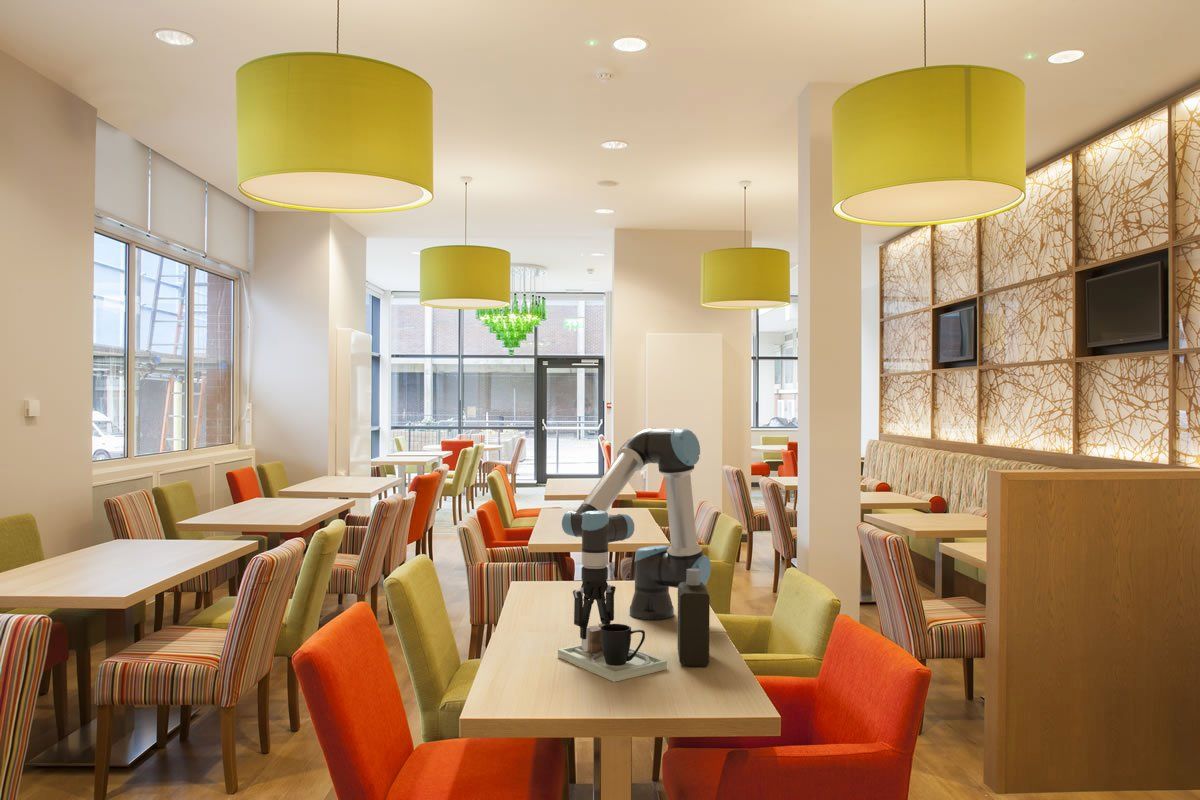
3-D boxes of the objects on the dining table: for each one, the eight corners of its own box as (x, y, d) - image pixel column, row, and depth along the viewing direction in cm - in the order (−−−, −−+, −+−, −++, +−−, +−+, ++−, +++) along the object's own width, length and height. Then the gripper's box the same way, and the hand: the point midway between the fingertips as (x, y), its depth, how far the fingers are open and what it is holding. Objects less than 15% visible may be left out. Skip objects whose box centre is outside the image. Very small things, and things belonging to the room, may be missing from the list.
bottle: (680, 667, 224) (680, 575, 224) (677, 650, 240) (677, 564, 240) (709, 668, 223) (710, 575, 223) (704, 650, 239) (705, 564, 239)
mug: (644, 668, 219) (644, 632, 219) (599, 666, 220) (599, 631, 220) (645, 658, 227) (645, 624, 227) (601, 657, 228) (602, 623, 228)
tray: (608, 646, 243) (608, 639, 243) (666, 669, 222) (667, 661, 222) (557, 657, 232) (557, 649, 232) (614, 682, 211) (614, 673, 211)
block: (595, 646, 237) (596, 625, 237) (606, 650, 233) (606, 629, 233) (581, 648, 234) (581, 627, 234) (591, 653, 230) (592, 631, 230)
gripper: (611, 561, 242) (611, 640, 242) (561, 567, 231) (560, 650, 231) (627, 564, 236) (627, 646, 236) (576, 571, 225) (575, 657, 225)
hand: (593, 648), depth 233 cm, fingers closed on block, 5 cm apart
